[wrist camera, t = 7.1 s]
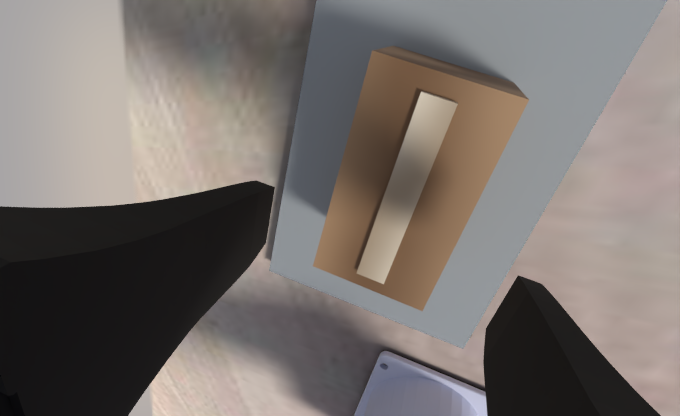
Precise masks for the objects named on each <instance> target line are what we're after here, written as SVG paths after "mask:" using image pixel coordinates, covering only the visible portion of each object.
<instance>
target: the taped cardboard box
mask: <svg viewBox="0 0 680 416" xmlns="http://www.w3.org/2000/svg"><path fill="white" fill-rule="evenodd" d="M528 101H529V99H528V98H527V97H526V96H525V94H524V93H523V92H522V91H521V90H520V89H519V88H518V87H517V85H516V84H515V83H513V82H510V81H506V80H503V79H500V78H497V77H494V76H490V75H487V74H484V73H481V72H477V71H474V70H471V69H468V68H464V67H461V66H458V65H455V64H451V63H448V62H445V61H442V60H438V59H435V58H432V57H429V56H426V55H422V54H419V53H416V52H413V51H409V50H406V49H403V48H400V47H396V46H390V47H385V48H381V49H377V50H372V53H371V57H370V60H369V64H368V68H367V71H366V75H365V78H364V82H363V86H362V89H361V93H360V97H359V100H358V104H357V108H356V111H355V115H354V118H353V122H352V126H351V129H350V133H349V137H348V140H347V144H346V147H345V151H344V155H343V158H342V162H341V166H340V169H339V173H338V176H337V180H336V184H335V187H334V191H333V195H332V198H331V202H330V205H329V209H328V213H327V216H326V220H325V224H324V227H323V231H322V234H321V238H320V242H319V245H318V249H317V253H316V256H315V260H314V264H313V267H316V268H318V269H321V270H323V271H326V272H328V273H330V274H333V275H335V276H338V277H340V278H343V279H345V280H347V281H350V282H352V283H355V284H357V285H360V286H362V287H364V288H367V289H369V290H372V291H374V292H377V293H379V294H381V295H384V296H386V297H389V298H391V299H394V300H396V301H398V302H401V303H403V304H406V305H408V306H411V307H413V308H415V309H418V310H420V311H423V309H424V307H425V305H426V303H427V301H428V299H429V297H430V295H431V293H432V291H433V289H434V287H435V285H436V283H437V281H438V279H439V278H440V276H441V274H442V272H443V270H444V268H445V266H446V264H447V262H448V260H449V258H450V256H451V254H452V252H453V250H454V248H455V246H456V244H457V242H458V240H459V238H460V236H461V234H462V232H463V230H464V228H465V226H466V224H467V222H468V220H469V218H470V216H471V214H472V212H473V210H474V208H475V206H476V204H477V202H478V200H479V198H480V196H481V194H482V192H483V190H484V188H485V186H486V184H487V182H488V180H489V178H490V176H491V174H492V173H493V171H494V169H495V167H496V165H497V163H498V161H499V159H500V157H501V155H502V153H503V151H504V149H505V147H506V145H507V143H508V141H509V139H510V137H511V135H512V133H513V131H514V129H515V127H516V125H517V123H518V121H519V119H520V117H521V115H522V113H523V111H524V109H525V107H526V105H527V103H528Z"/></svg>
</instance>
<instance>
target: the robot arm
mask: <svg viewBox="0 0 680 416" xmlns="http://www.w3.org/2000/svg"><path fill="white" fill-rule="evenodd" d="M274 188H275V187H272V186H270V185H267V184H264V183H261V182H259V181H250V182H244V183H239V184H235V185H230V186H226V187H222V188H217V189H213V190H209V191H204V192H200V193H195V194H190V195H185V196H179V197H174V198H169V199H163V200H157V201H151V202H143V203H134V204H125V205H115V206H96V207H74V208H26V207H23V208H22V207H0V416H128V415H129V413H130V412H131V410H132V409H133V407H134V406H135V404H136V403H137V402H138V400H139V399H140V397H141V396H142V394H143V393H144V391H145V390H146V389H147V387H148V386H149V385H150V383H151V382H152V380H153V379H154V378H155V376H156V375H157V374H158V372H159V371H160V369H161V368H162V367H163V365H164V364H165V363H166V361H167V360H168V359H169V357H170V356H171V355H172V353H173V352H174V351H175V349H176V348H177V347H178V345H179V344H180V343H181V342H182V340H183V339H184V338H185V336H186V335H187V334H188V332H189V331H190V330H191V329H192V328H193V326H194V325H195V324H196V323H197V322H198V321H199V320H200V318H201V317H202V316H203V315H204V314H205V313H206V312H207V311H208V310H209V309H210V308H211V307H212V306H213V305H214V304H215V303H216V302H217V300H218V299H219V298H220V297H221V296H222V295H223V294H224V293H225V292H226V291H227V290H228V289H229V288H230V287H231V286H232V285H233V284H234V283H235V281H236V280H237V279H238V278H239V277H240V276H241V275H242V274H243V273H244V272H245V271H246V270H247V268H248V267H249V266H250V265H251V263H252V262H253V261H254V259H255V258H256V256H257V255H258V253H259V252H260V251H261V249H262V248H263V246H264V245H265V243H266V238H267V232H268V226H269V219H270V213H271V207H272V201H273V194H274ZM383 363H384V364H383ZM385 364H386V365H385ZM484 377H485V391H482V390H480V389H478V388H475V387H473V386H470V385H468V384H466V383H463V382H461V381H458V380H456V379H454V378H451V377H449V376H446V375H444V374H442V373H439V372H437V371H434V370H432V369H430V368H427V367H425V366H422V365H420V364H418V363H415V362H413V361H410V360H408V359H406V358H403V357H401V356H398V355H396V354H393V353H391V352H388V351H383V352H381V353H380V355H379V357H378V359H377V362H376V364H375V366H374V369H373V371H372V374H371V376H370V378H369V381H368V383H367V385H366V388H365V390H364V392H363V395H362V397H361V399H360V402H359V404H358V406H357V409H356V411H355V414H354V416H661V415H660V414H658V413H657V412H656V411H655V410H654V409H653V408H652V407H651V406H650V405H649V404H648V403H647V402H646V401H645V400H644V399H643V398H642V397H641V396H640V395H639V394H638V393H637V392H636V391H635V390H634V389H633V388H632V387H631V386H630V385H629V383H628V382H627V381H626V380H625V379H624V378H623V377H622V376H621V375H620V374H619V373H618V372H617V370H616V369H615V368H614V367H613V366H612V365H611V364H610V363H609V362H608V361H607V359H606V358H605V357H604V356H603V355H602V354H601V353H600V352H599V350H598V349H597V348H596V347H595V346H594V345H593V343H592V342H591V341H590V340H589V339H588V338H587V336H586V335H585V334H584V333H583V332H582V330H581V329H580V328H579V327H578V326H577V324H576V323H575V322H574V321H573V320H572V318H571V317H570V316H569V315H568V313H567V312H566V311H565V310H564V309H563V307H562V306H561V305H560V304H559V303H558V301H557V300H556V299H555V298H554V297H553V296H552V294H551V293H550V292H549V291H548V290H547V289H546V288H545V287H544V286H543V285H542V284H540V283H537V282H535V281H532V280H529V279H526V278H524V277H521V276H518V277H517V278H516V280H515V281H514V283H513V285H512V286H511V288H510V290H509V291H508V293H507V295H506V296H505V298H504V300H503V301H502V303H501V305H500V306H499V308H498V310H497V311H496V313H495V315H494V316H493V318H492V320H491V321H490V323H489V325H488V326H487V328H486V335H485V346H484Z"/></svg>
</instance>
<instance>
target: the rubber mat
mask: <svg viewBox="0 0 680 416" xmlns="http://www.w3.org/2000/svg"><path fill="white" fill-rule="evenodd" d="M666 2H667V0H316V5H315V11H314V17H313V23H312V28H311V34H310V40H309V46H308V51H307V57H306V63H305V69H304V74H303V80H302V86H301V91H300V97H299V103H298V109H297V114H296V120H295V126H294V132H293V137H292V143H291V149H290V154H289V160H288V166H287V172H286V177H285V183H284V189H283V195H282V200H281V206H280V212H279V218H278V223H277V229H276V235H275V240H274V246H273V252H272V258H271V263H270V269H269V271H271V272H274V273H276V274H279V275H281V276H283V277H286V278H288V279H291V280H293V281H296V282H298V283H301V284H303V285H306V286H308V287H311V288H313V289H316V290H318V291H321V292H323V293H326V294H328V295H331V296H333V297H336V298H338V299H341V300H343V301H346V302H348V303H351V304H353V305H356V306H358V307H361V308H363V309H366V310H368V311H370V312H373V313H375V314H378V315H380V316H383V317H385V318H388V319H390V320H393V321H395V322H398V323H400V324H403V325H405V326H408V327H410V328H413V329H415V330H418V331H420V332H423V333H425V334H428V335H430V336H433V337H435V338H438V339H440V340H443V341H445V342H448V343H450V344H453V345H455V346H457V347H460V348H462V349H463V348H464V347H465V345H466V343H467V342H468V340H469V338H470V336H471V335H472V333H473V331H474V330H475V328H476V326H477V324H478V323H479V321H480V319H481V318H482V316H483V314H484V313H485V311H486V309H487V307H488V306H489V304H490V302H491V301H492V299H493V297H494V295H495V294H496V292H497V290H498V289H499V287H500V285H501V283H502V282H503V280H504V278H505V277H506V275H507V273H508V272H509V270H510V268H511V266H512V265H513V263H514V261H515V260H516V258H517V256H518V254H519V253H520V251H521V249H522V248H523V246H524V244H525V243H526V241H527V239H528V237H529V236H530V234H531V232H532V231H533V229H534V227H535V225H536V224H537V222H538V220H539V219H540V217H541V215H542V213H543V212H544V210H545V208H546V207H547V205H548V203H549V202H550V200H551V198H552V196H553V195H554V193H555V191H556V190H557V188H558V186H559V184H560V183H561V181H562V179H563V178H564V176H565V174H566V173H567V171H568V169H569V167H570V166H571V164H572V162H573V161H574V159H575V157H576V155H577V154H578V152H579V150H580V149H581V147H582V145H583V143H584V142H585V140H586V138H587V137H588V135H589V133H590V132H591V130H592V128H593V126H594V125H595V123H596V121H597V120H598V118H599V116H600V114H601V113H602V111H603V109H604V108H605V106H606V104H607V102H608V101H609V99H610V97H611V96H612V94H613V92H614V91H615V89H616V87H617V85H618V84H619V82H620V80H621V79H622V77H623V75H624V73H625V72H626V70H627V68H628V67H629V65H630V63H631V62H632V60H633V58H634V56H635V55H636V53H637V51H638V50H639V48H640V46H641V44H642V43H643V41H644V39H645V38H646V36H647V34H648V32H649V31H650V29H651V27H652V26H653V24H654V22H655V21H656V19H657V17H658V15H659V14H660V12H661V10H662V9H663V7H664V5H665V3H666ZM390 46H396V47H400V48H403V49H406V50H409V51H413V52H416V53H419V54H422V55H426V56H429V57H432V58H435V59H438V60H442V61H445V62H448V63H451V64H455V65H458V66H461V67H464V68H468V69H471V70H474V71H477V72H481V73H484V74H487V75H490V76H494V77H497V78H500V79H503V80H506V81H510V82H513V83H515V84H516V85H517V87H518V88H519V89H520V90H521V91H522V92H523V93H524V94H525V96H526V97H527V98H528V99H529V101H528V103H527V105H526V107H525V109H524V111H523V113H522V115H521V117H520V119H519V121H518V123H517V125H516V127H515V129H514V131H513V133H512V135H511V137H510V139H509V141H508V143H507V145H506V147H505V149H504V151H503V153H502V155H501V157H500V159H499V161H498V163H497V165H496V167H495V169H494V171H493V173H492V174H491V176H490V178H489V180H488V182H487V184H486V186H485V188H484V190H483V192H482V194H481V196H480V198H479V200H478V202H477V204H476V206H475V208H474V210H473V212H472V214H471V216H470V218H469V220H468V222H467V224H466V226H465V228H464V230H463V232H462V234H461V236H460V238H459V240H458V242H457V244H456V246H455V248H454V250H453V252H452V254H451V256H450V258H449V260H448V262H447V264H446V266H445V268H444V270H443V272H442V274H441V276H440V278H439V279H438V281H437V283H436V285H435V287H434V289H433V291H432V293H431V295H430V297H429V299H428V301H427V303H426V305H425V307H424V309H423V311H420V310H418V309H415V308H413V307H411V306H408V305H406V304H403V303H401V302H398V301H396V300H394V299H391V298H389V297H386V296H384V295H381V294H379V293H377V292H374V291H372V290H369V289H367V288H364V287H362V286H360V285H357V284H355V283H352V282H350V281H347V280H345V279H343V278H340V277H338V276H335V275H333V274H330V273H328V272H326V271H323V270H321V269H318V268H316V267H313V264H314V260H315V256H316V253H317V249H318V245H319V242H320V238H321V234H322V231H323V227H324V224H325V220H326V216H327V213H328V209H329V205H330V202H331V198H332V195H333V191H334V187H335V184H336V180H337V176H338V173H339V169H340V166H341V162H342V158H343V155H344V151H345V147H346V144H347V140H348V137H349V133H350V129H351V126H352V122H353V118H354V115H355V111H356V108H357V104H358V100H359V97H360V93H361V89H362V86H363V82H364V78H365V75H366V71H367V68H368V64H369V60H370V57H371V53H372V50H377V49H381V48H385V47H390Z"/></svg>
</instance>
